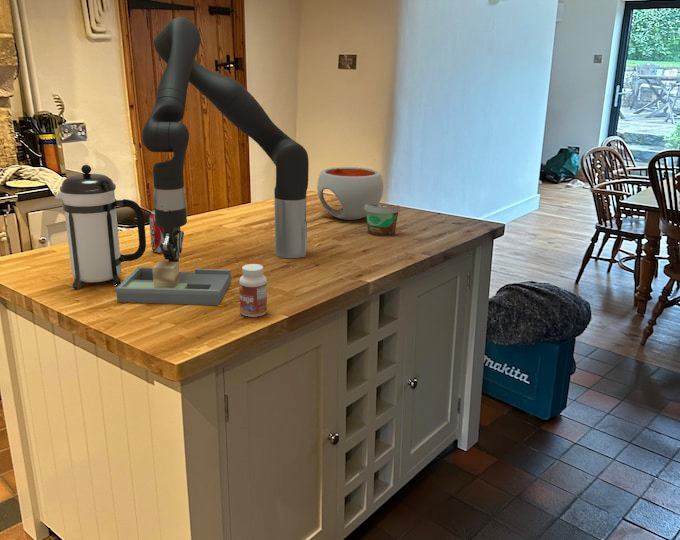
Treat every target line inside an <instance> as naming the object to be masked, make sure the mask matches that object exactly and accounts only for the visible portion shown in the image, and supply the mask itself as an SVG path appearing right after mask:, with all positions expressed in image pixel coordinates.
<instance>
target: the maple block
mask: <svg viewBox="0 0 680 540" xmlns="http://www.w3.org/2000/svg"><path fill="white" fill-rule="evenodd" d="M152 270H153V283H154V287H162V288H175V287H176V285H177V284H178V283H179V282H180V272H181V271H180V261H179V262H168V260H167V261H164V260H163V261H161V260H158V261H157V262H156V263H155V265H153V266H152Z"/></svg>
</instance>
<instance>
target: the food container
mask: <svg viewBox="0 0 680 540" xmlns="http://www.w3.org/2000/svg"><path fill="white" fill-rule="evenodd" d="M364 210H366V213H367V216H366V225H367V227H366V228H367V234H369V235H371V236H376V237H390V236H394V235H396V229H397V228H396V227H397V222H398V221H397V220H398V215H399V212H401V207H400V204H399V205H394V206H388V205H386V204H385V205H384V204H378V205H368V204H367V202H366V204H365V208H364Z"/></svg>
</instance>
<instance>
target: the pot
mask: <svg viewBox="0 0 680 540" xmlns="http://www.w3.org/2000/svg"><path fill="white" fill-rule="evenodd" d="M318 175H319V176H318V178H317V183H316V184H317V186H316V189H317V190H316V191H317V196H318V198H319V201H320V203H321V205H322V207H323V208H324V209H325V210H326V212H328V213H329V214H331V215H332V216H334V217H335V218H338V219H340V220H344V221H345V220H346V221H356V220H360V219H362V218H367V213H366V210H364V208H365V204H366V202H367V204H368V205H380V203H381V201H382V197H383V194H384V179H383V176H382V173H381V172H380V171H378V170H376V169H373V168H368V167H367V168H366V167H359V166H358V167H356V166H355V167H354V166H339V167H329V168H325V169H323V170H321V171H320V173H319V174H318ZM325 190H329V191H331V192H332V193H333V194H334V196H335V197H336V198H337V200H338V201H339V202H340V205H341V208H339V209H335V208H333V207H331V206H330V205H329V204H328V203H327V201H326V200H325V196H324V191H325Z"/></svg>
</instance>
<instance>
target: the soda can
mask: <svg viewBox="0 0 680 540" xmlns="http://www.w3.org/2000/svg"><path fill="white" fill-rule="evenodd" d="M150 213H151V214H150V216H149V234H150V235H149V236H150V245H151V250H152V251H153V252H155V253H156V252H157V254H163V253H162V251H161V248H160V243H164V242H163V240H162V233H163V230H164V229H163V228H162V227H159V226H157V225H156V223H155V209H154V210H151V212H150Z"/></svg>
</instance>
